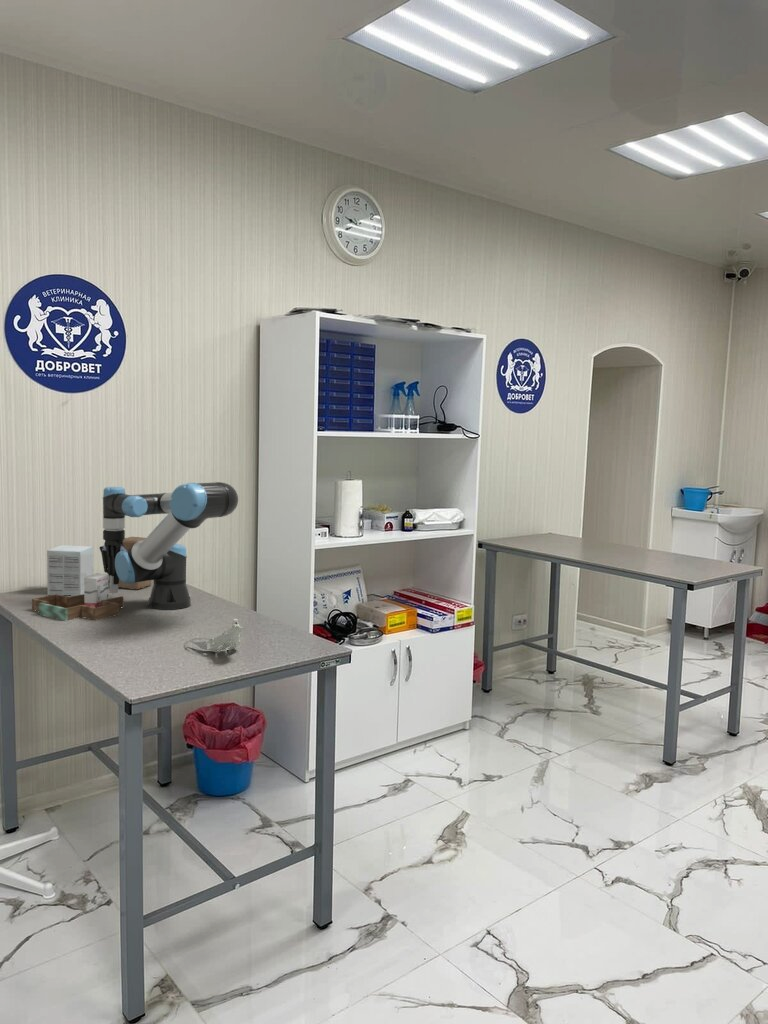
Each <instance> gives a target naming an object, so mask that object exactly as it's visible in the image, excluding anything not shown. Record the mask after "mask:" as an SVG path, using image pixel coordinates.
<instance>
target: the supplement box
mask: <svg viewBox="0 0 768 1024" xmlns="http://www.w3.org/2000/svg"><path fill="white" fill-rule="evenodd" d="M46 569H47V571H46V573H47V575H46V576H47V585H46V586H47V596H51V595H56V594H57V595H71V596H70V597H72V596H77V595H82V594H84V578H85V577H86V576H89V575H93V574H94V546H92V545H91V546H90V545H87V546H86V545H62V544H61V545H59V546H55V547H53V548H50V549H48V550H47V551H46Z"/></svg>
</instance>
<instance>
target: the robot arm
mask: <svg viewBox="0 0 768 1024" xmlns="http://www.w3.org/2000/svg"><path fill="white" fill-rule="evenodd" d="M238 504H239V495H238V493H237V490H236V489H235V487H233V486H232V485H231V484H229V483H226V482H221V481H219V482H218V481H217V482H216V481H215V482H188V483H183V484H182V483H181V484H180V485H178V486H177V487H176V488H175V489H174V490H173V491H172V492H162V493H148V494H145V493H144V494H126V490H125V488H124V487H123V486H107V487H105V488H103V495H102V528H103V531H102V539H103V540H104V545H102V546H99V551H100V553H101V557H102V559H101V560H102V565H103V571H104V574H107V575H108V594H117V593H119V587H118V584H119V579H120V580H121V581H122V582H123V583H126V584H128V583H133V584H134V583H137V582H143V581H150V580H151V581H153V584H152V589H151V591H150V597H148V607H149V608H151V609H155V610H177V609H179V610H181V609H185V608H188V607H190V606H191V605H192V603H191V601H192V600H191V599H192V598H191V596H190V593H189V590H188V586H187V557H188V556H187V548H186V546H185V545H183V544H179V543H178V542H179V541H180V540H181V539H182V538H183V537H184V536H185V535H186V533H187V532H189V530H190V529H197V528H199V527H200V526H201V524H203V523H204V522H205V521H206V520H207V519H215V518H223V517H227V516H229V515H231V514H233V512H234V511H235V510H236V509H237V507H238ZM163 514H164V515H165V514H167V515H165V517H164V518H163V519H162V520H161V521H160V522H159V523H158V525H156V527H155V528H153V530H152V531H151V532H150V533H149V535H147V537H145V538H146V539H145V540H144V541H139V542H137V543H135V544H134V545H133V546H132V547H131V549H129V550H128V549H127V550H126V549H125V548H124V545H123V540H124V539H125V538H126V537H125V536H126V533H125V531H126V530H125V528H126V527H125V526H126V523H125V522H126V517H130V518H141V517H142V516H150V515H151V516H152V515H163Z"/></svg>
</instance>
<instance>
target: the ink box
mask: <svg viewBox="0 0 768 1024" xmlns="http://www.w3.org/2000/svg"><path fill="white" fill-rule="evenodd" d="M107 599H109V575H108V574H107V573H103V574H102V573H93V575H89V576H86V577H85V578H84V603H85V604H84V605H86V606H90V607H95V608H97V607H101V601H102V600H107Z"/></svg>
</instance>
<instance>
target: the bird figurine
mask: <svg viewBox="0 0 768 1024" xmlns="http://www.w3.org/2000/svg"><path fill="white" fill-rule="evenodd" d="M232 621H233V623H232V625H231V627H228V628H227V630H225V631H223V632H222V633H221V634H220V635H219V636H216V637H212V638H209V637H208V638H206V637H196V638H195V637H194V638H192V639H189V640H186V642H184V645H186V644H188V643H192V644H194V645H195V646H198V648H200V649H202V650H204V651H206V650H208V651H213V652H217V651H218V652H217V653H220V652H221V651H225V650H226V651H227V650H230V651H231V650H233V649H235V648H238V647H240V644H241V642H242V641H241V640H240V639H241V637H240V636H241V632H244V630H246V628H245V627H244V626H240V624H239V619H238V618H233V619H232ZM195 640H205V641H200V642H199V641H195ZM206 640H208V641H206ZM208 644H209V646H208Z"/></svg>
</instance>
